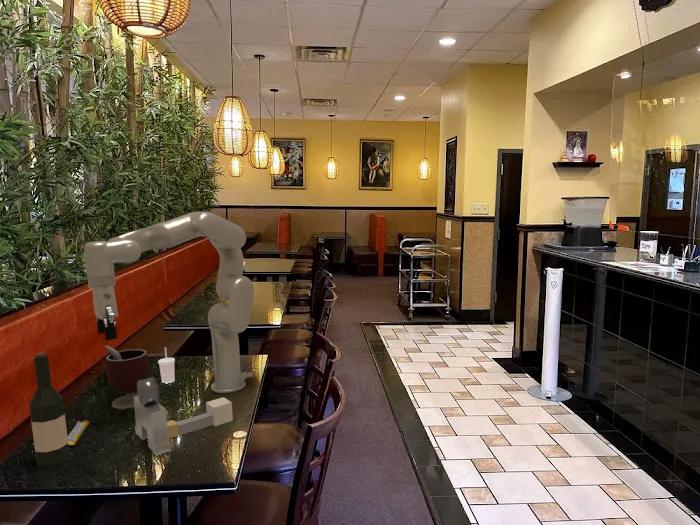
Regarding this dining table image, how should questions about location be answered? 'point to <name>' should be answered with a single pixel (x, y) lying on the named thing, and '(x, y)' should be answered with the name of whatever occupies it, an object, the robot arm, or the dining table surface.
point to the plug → (203, 418)
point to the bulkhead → (151, 417)
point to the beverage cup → (167, 369)
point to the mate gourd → (126, 374)
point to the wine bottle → (48, 418)
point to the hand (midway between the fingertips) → (107, 336)
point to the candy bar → (77, 432)
